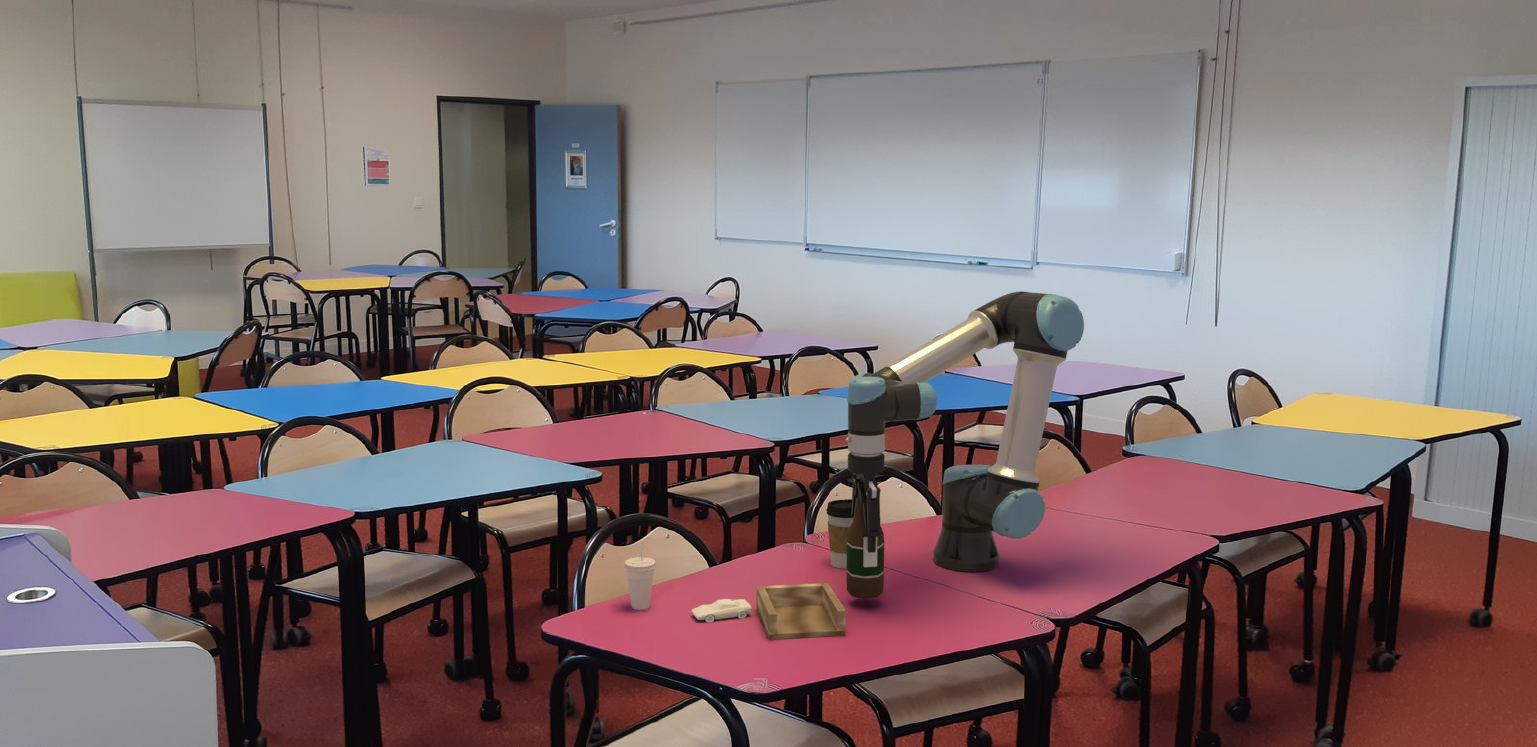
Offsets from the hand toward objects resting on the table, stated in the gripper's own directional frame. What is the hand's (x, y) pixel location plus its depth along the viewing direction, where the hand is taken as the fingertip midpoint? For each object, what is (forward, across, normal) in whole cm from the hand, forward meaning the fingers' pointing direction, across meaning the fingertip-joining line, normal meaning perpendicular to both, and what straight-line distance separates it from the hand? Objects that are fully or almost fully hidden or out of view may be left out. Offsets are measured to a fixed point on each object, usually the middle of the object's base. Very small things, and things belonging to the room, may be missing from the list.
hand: (865, 559), depth 228 cm
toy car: (+10, +2, -30) cm, 32 cm away
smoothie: (+9, -5, -46) cm, 48 cm away
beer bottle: (+7, 0, 0) cm, 7 cm away
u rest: (+9, +8, -16) cm, 20 cm away
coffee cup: (+10, -26, +1) cm, 28 cm away
